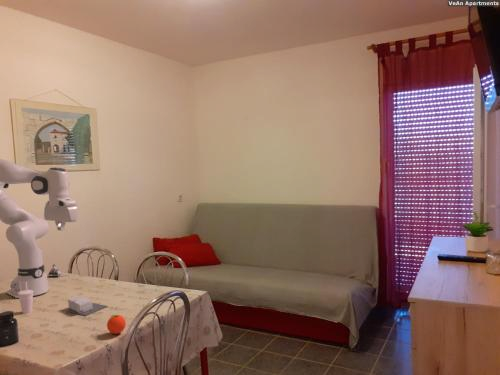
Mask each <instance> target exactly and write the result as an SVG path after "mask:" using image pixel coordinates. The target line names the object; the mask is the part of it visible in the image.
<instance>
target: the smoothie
mask: <svg viewBox="0 0 500 375" xmlns="http://www.w3.org/2000/svg"><path fill="white" fill-rule="evenodd" d="M25 284H26V290H25V291H21V292H19V293H18V296H19V298H18V299H19V303H20V308H21V311H22V314H23V313H24V314H30V313H32V312H33V303H34V302H33V298H34V296H33V293H34V291H33V290H27V282H25Z"/></svg>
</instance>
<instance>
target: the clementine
mask: <svg viewBox="0 0 500 375" xmlns="http://www.w3.org/2000/svg"><path fill="white" fill-rule="evenodd" d="M126 324H127V322H126V319H125V318H124V317H123V315H120V314H112V315H111V316H110V317H109V319H108V321H107V322H106V328H107V330H108V331H109V332H110V333H111V334H114V335H115V334H121V333H122V332H123V331H124V329H125V328H126Z"/></svg>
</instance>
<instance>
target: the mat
mask: <svg viewBox="0 0 500 375" xmlns="http://www.w3.org/2000/svg"><path fill="white" fill-rule="evenodd" d="M92 308H93V309H92V310H89V311H87V312H83V313H78V312H76V311H74V310H72V309H70V308H69V310H66V312H67V313H70V314H76V315H80V316H83V317H87V316H89V315H91V314H94V313H96V312H99V311H101V310H103V309H105V308H108V305H106V304H105V305H104V304H100V303H96V302H95V303H94V302H92Z"/></svg>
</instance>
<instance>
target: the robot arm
mask: <svg viewBox="0 0 500 375" xmlns="http://www.w3.org/2000/svg"><path fill="white" fill-rule="evenodd" d="M18 184H19V185H21V184H30V187H31V190H32V191H33V192H32V193H34V194H36V195H39V196H40V195H41V196H45V195H48V200H47V202H46V203H45V206H44V212H43V213H44V214H43V217H44V219H43V218H40V217H38V216H35V215H34V214H32V213H30V212H28V211H27V210H25V209H23V208H22V207H21V206H20V205H19V204H18V203H16V201H15V200H13V199H12V198H11V196H9V195H8V194H7V193H6V192H5V190H4V189H7V188H9V185H18ZM69 187H70V180H69V174H68V171H67V169H65V168H62V167H49V168H48V170H46V171H45V172H44V171H39V170H35V169H32V168H29V167H26V166H24V165H20V164H19V163H18V164H17V163H16V162H15V163H14V162H12V161H9V160H6V159H1V158H0V221H1V222H2V223H3V224H5V225H9V226H8V228H7V229H6V231H5V238H6V239H7V241H8V242H10V243H11V244H12V245H13V246H14V248H15V250H16V253H17V256H18V265H19V266H18V269H16V270H17V276H16V277H15V278H13V280H12V281H11V283H10V285H9V286H10V289H9V290H7V291H6V292H5V294H6V293H8V294H9V296H10V295H11V297H12V296H13V297H12V298H14V297H15V298H14V299H19V296H18V293H19V292H21V291H25V290H26V284H25V282H27V290H33V291H34V293H33V297H34V296H38V295H42V294H44V293H45V294H46V293H47V292H48V291H49V289H51V285H49V281H48V274H47V273H45V271H46V270H45V264H44V260H43V259H44V258H43V257H44V256H43V250H42V249H41V248H39V247H38V246H37V243H36V240H38V239H41V238H42V237H44V236H45V235H46V234H48V233H49V230H50V224H49V223H48V221H53V222H54V223H55V226H56V230H57V231H65V226H66V224H67V223H74V222H77V220H78V209H77V205H78V202H77V200H75V199H73V198H71V196H70V192H69ZM8 294H7V295H8Z"/></svg>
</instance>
